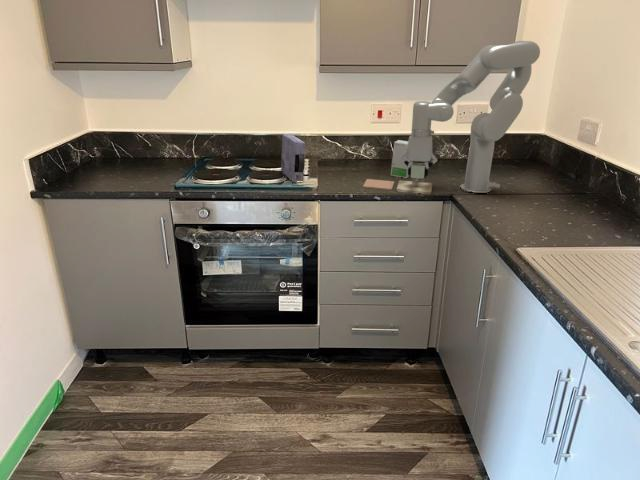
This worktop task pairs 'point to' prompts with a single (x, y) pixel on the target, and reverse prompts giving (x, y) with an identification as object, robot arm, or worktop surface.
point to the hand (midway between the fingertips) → (417, 176)
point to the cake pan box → (293, 157)
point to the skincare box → (399, 160)
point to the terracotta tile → (378, 184)
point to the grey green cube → (417, 170)
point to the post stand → (414, 187)
